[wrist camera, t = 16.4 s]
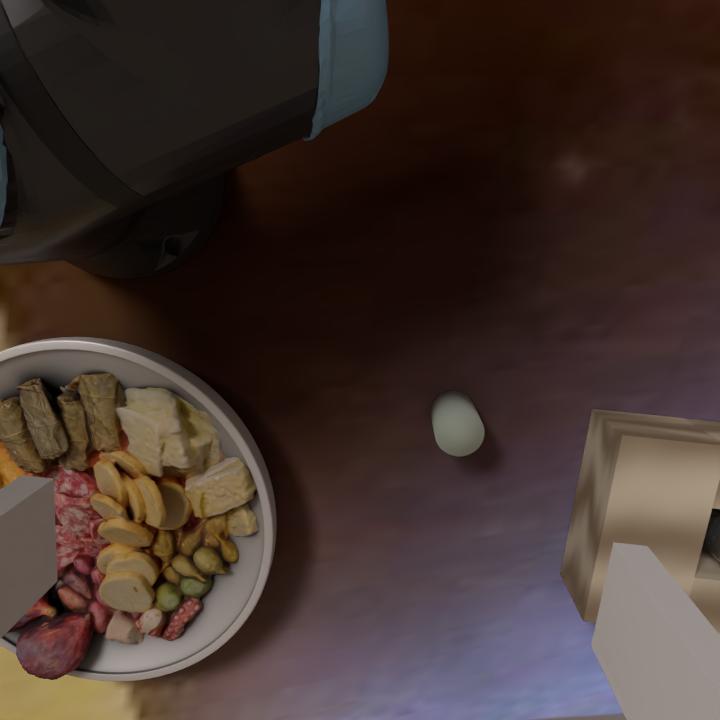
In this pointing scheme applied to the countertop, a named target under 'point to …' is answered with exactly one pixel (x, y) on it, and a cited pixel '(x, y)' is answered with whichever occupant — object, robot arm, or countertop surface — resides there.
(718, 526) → the long steel pin
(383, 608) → the countertop surface
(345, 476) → the countertop surface
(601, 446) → the hole block
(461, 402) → the grey-green rounded piece
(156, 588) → the bowl
